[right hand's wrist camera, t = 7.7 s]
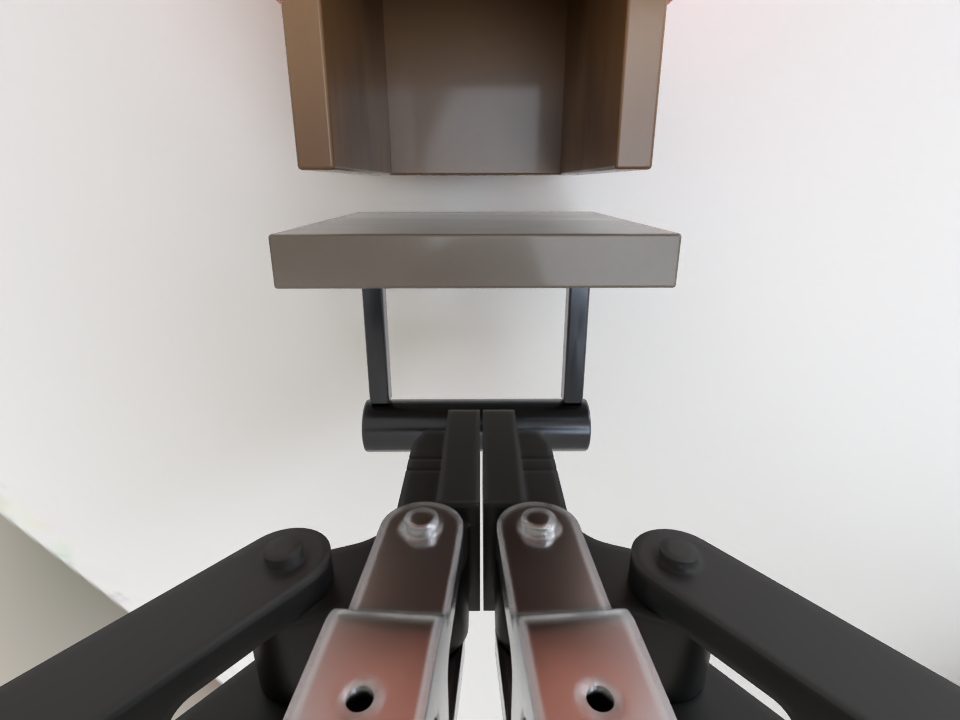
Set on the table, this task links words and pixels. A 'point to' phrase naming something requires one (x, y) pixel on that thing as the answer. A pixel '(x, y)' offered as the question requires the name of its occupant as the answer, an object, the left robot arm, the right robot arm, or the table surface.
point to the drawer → (474, 168)
